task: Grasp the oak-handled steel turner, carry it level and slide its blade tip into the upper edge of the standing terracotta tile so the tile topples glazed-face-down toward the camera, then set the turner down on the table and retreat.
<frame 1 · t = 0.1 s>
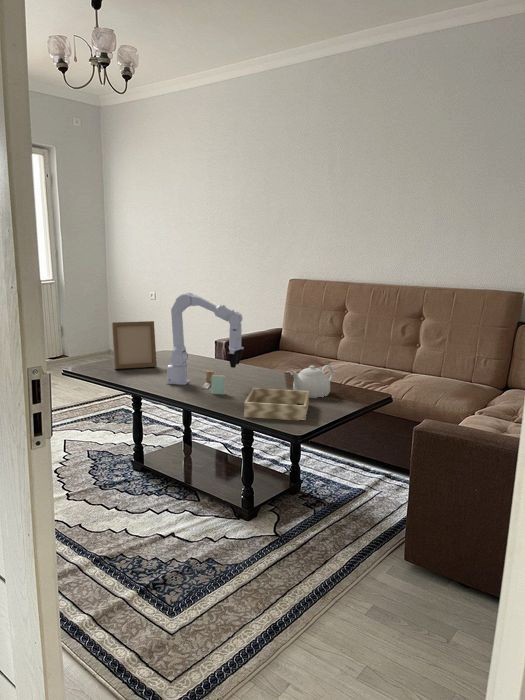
hand: (234, 365, 261), 10 cm above the table, tool pointing down, fingers open, 7 cm apart
photo frame: (134, 366, 298), on the table
turner: (209, 383, 267), on the table
teapot: (311, 394, 252), on the table
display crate: (277, 410, 225), on the table
tile: (218, 393, 248), on the table
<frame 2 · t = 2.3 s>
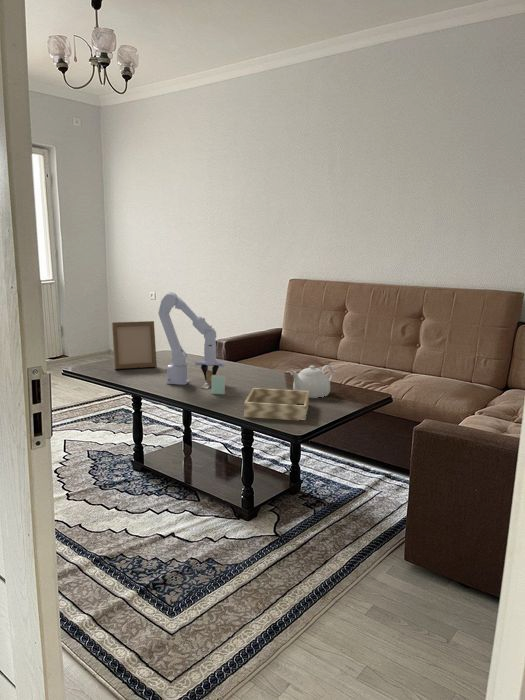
hand: (209, 380, 267), 1 cm above the table, tool pointing down, fingers closed on turner, 3 cm apart
turner: (209, 382, 267), on the table, touching gripper
everything else where it was.
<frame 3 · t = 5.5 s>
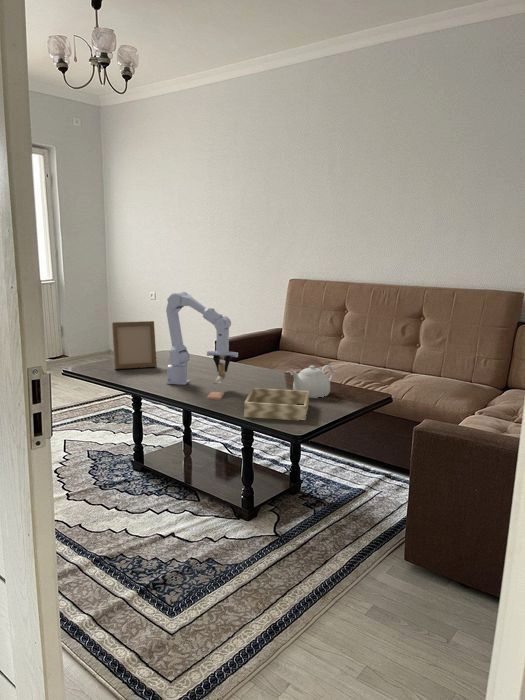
hand: (222, 371, 256), 8 cm above the table, tool pointing down, fingers closed on turner, 3 cm apart
turner: (222, 375, 256), point 6 cm above the table, touching gripper
tile: (217, 393, 247), on the table, tilted 90°
everything else where it was.
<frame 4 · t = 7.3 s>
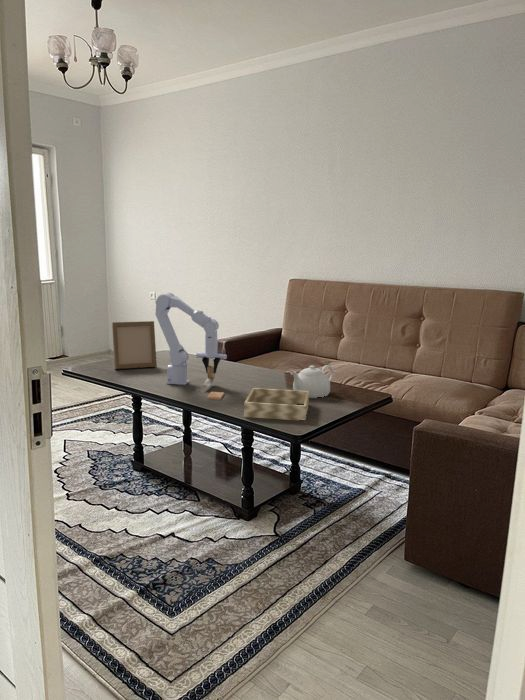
hand: (211, 372, 262), 6 cm above the table, tool pointing down, fingers closed on turner, 3 cm apart
turner: (211, 378, 262), point 3 cm above the table, tilted 6°, touching gripper
everything else where it was.
when the fingers open (2 cm above the table, at t = 8.2 s): turner stays where it is, on the table.
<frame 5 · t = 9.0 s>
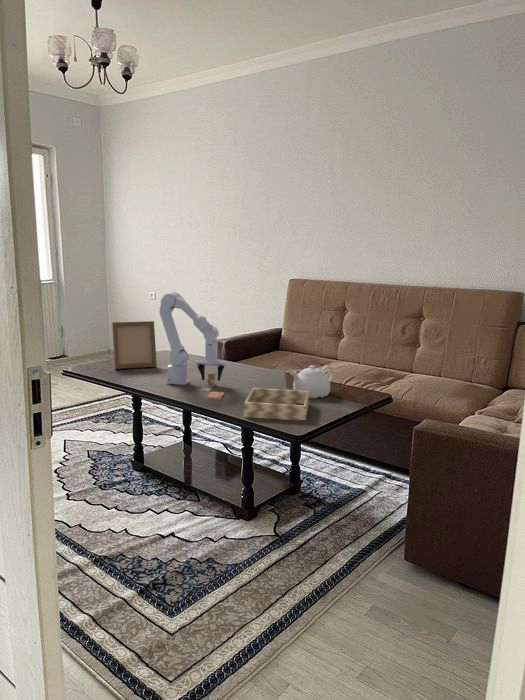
hand: (211, 380, 262), 2 cm above the table, tool pointing down, fingers open, 7 cm apart
turner: (211, 385, 263), on the table
everything else where it was.
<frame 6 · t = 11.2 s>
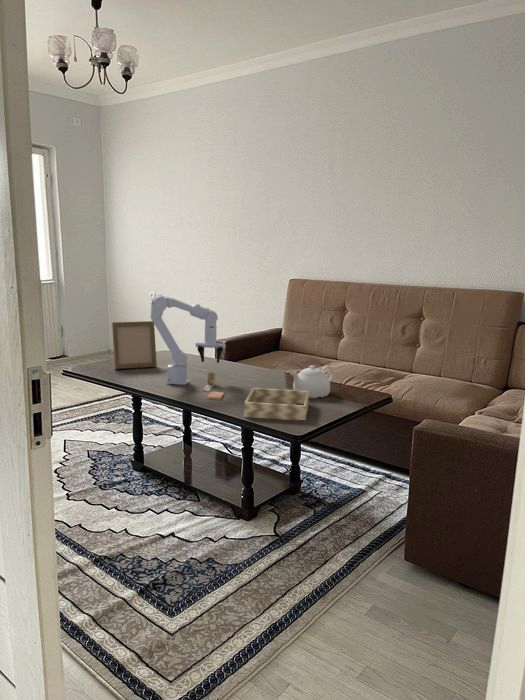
hand: (210, 361, 268), 10 cm above the table, tool pointing down, fingers open, 7 cm apart
nothing on the table moved.
at the end: tile tilted 90°; turner on the table; the gripper is holding nothing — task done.
